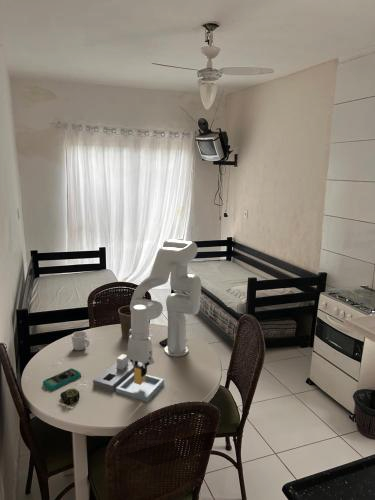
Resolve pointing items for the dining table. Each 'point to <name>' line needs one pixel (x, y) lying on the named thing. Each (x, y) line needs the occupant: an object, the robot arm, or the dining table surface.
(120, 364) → the block
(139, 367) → the block
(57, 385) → the digital multimeter
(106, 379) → the fuse block
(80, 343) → the cup
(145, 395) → the parts tray
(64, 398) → the tape measure
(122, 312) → the plant pot
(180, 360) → the dining table surface
